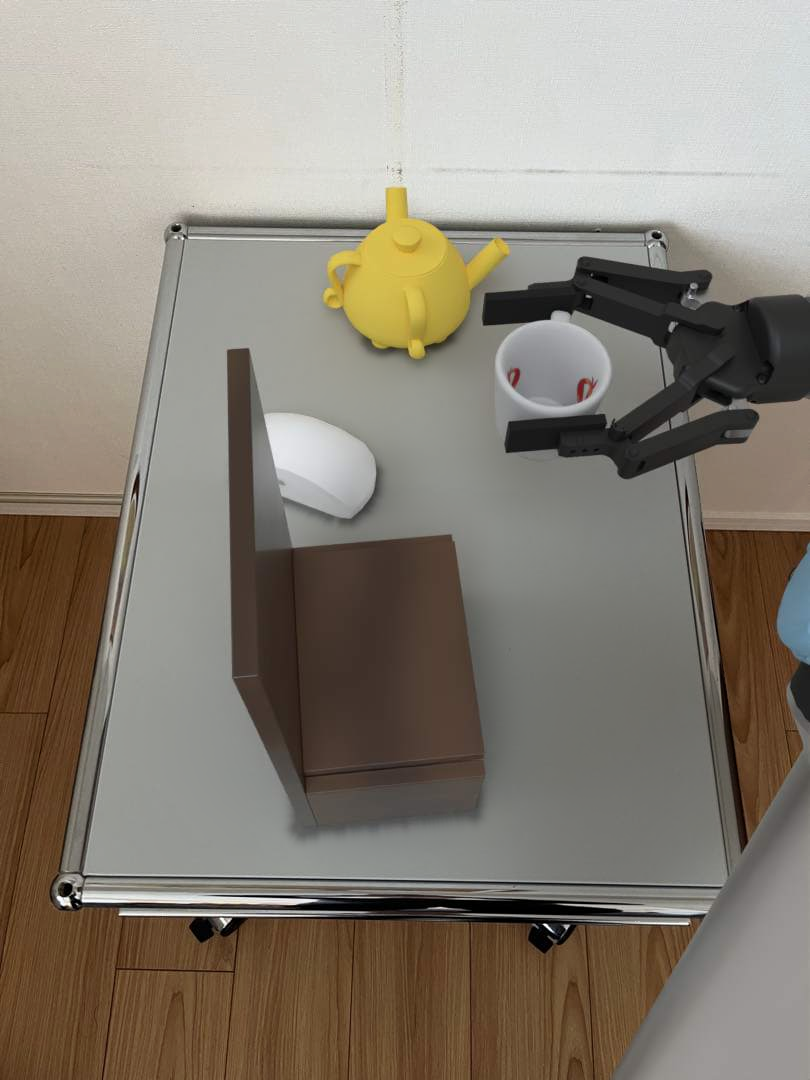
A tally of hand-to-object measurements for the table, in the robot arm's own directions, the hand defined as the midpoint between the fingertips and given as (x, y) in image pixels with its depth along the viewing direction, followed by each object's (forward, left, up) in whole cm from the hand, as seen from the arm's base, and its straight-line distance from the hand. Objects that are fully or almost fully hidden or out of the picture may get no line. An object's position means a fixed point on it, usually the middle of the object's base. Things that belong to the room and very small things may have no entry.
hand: (494, 371), depth 66 cm
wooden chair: (-10, +16, -21) cm, 28 cm away
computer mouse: (+12, +10, -21) cm, 26 cm away
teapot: (+23, -9, -21) cm, 32 cm away
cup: (-2, -4, -6) cm, 7 cm away
